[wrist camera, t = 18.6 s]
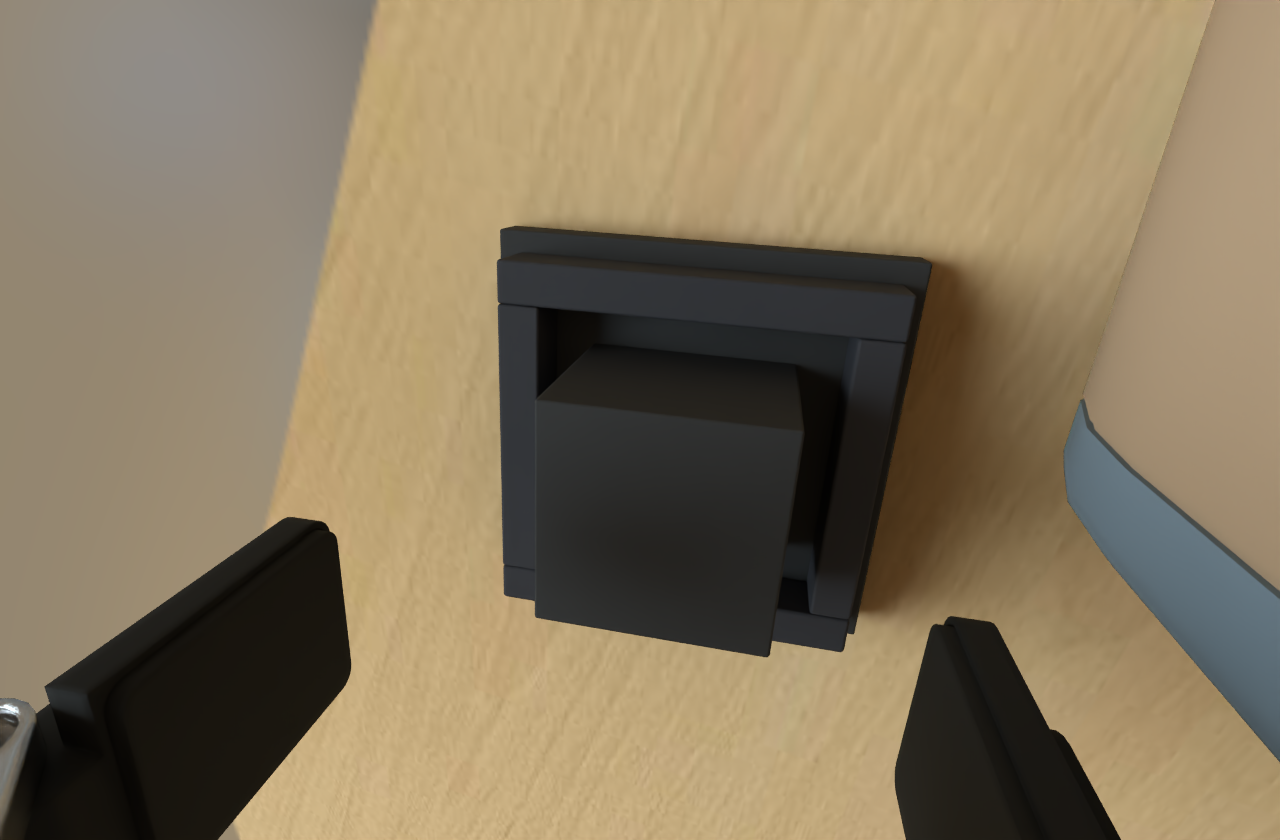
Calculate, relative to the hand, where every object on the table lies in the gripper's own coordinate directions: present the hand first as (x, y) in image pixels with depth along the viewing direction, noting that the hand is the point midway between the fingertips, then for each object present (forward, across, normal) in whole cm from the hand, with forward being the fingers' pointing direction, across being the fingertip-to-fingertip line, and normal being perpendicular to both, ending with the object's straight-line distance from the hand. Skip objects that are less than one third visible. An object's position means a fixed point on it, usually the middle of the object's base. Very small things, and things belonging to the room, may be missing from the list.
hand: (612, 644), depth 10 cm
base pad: (+8, 0, 0) cm, 9 cm away
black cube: (+7, 0, 0) cm, 8 cm away
